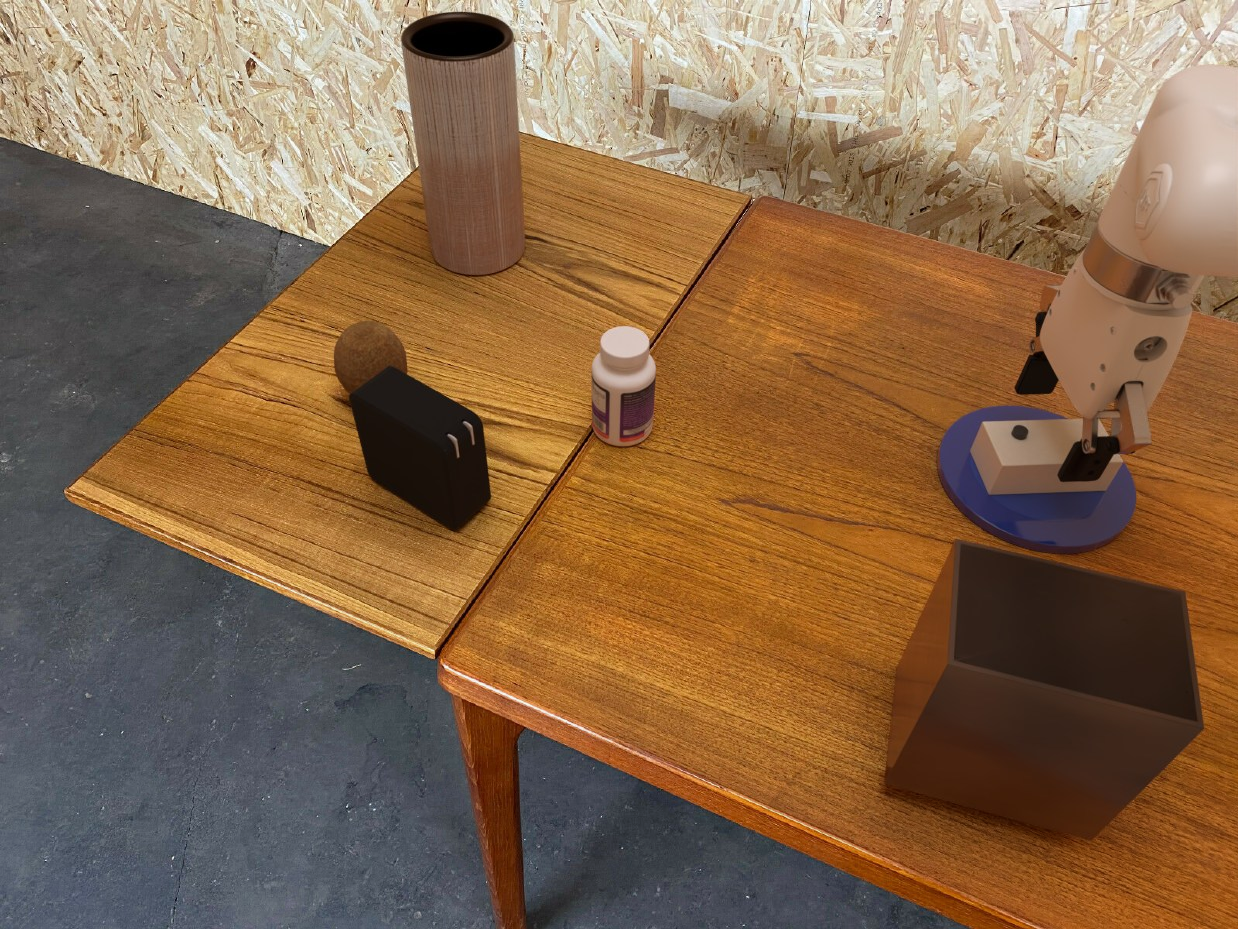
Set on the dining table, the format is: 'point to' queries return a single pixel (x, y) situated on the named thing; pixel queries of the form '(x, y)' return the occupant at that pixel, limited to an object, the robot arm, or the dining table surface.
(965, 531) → the dining table surface
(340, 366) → the fruit
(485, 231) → the planter
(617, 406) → the pill bottle
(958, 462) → the plate
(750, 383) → the dining table surface
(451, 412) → the electronic device
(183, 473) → the dining table surface
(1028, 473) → the controller
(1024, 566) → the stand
